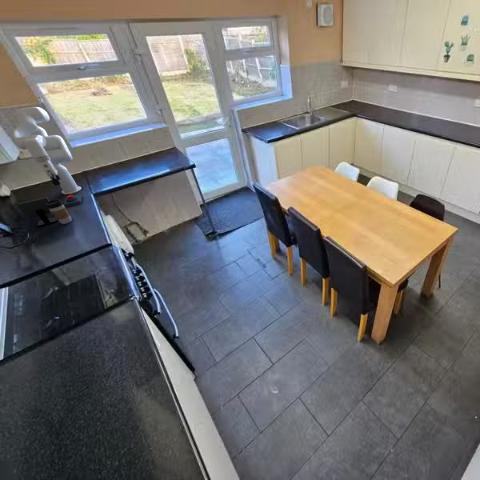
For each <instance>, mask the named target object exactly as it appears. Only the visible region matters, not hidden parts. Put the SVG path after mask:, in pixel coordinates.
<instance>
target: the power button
mask: <svg viewBox="0 0 480 480" xmlns="http://www.w3.org/2000/svg"><path fill="white" fill-rule="evenodd" d="M66 198H68V199H72V198H74V195H73V194H68V195H67V196H66Z"/></svg>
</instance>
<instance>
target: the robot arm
mask: <svg viewBox="0 0 480 480" xmlns="http://www.w3.org/2000/svg"><path fill="white" fill-rule="evenodd" d="M14 118H15V119H16V121H17V126H16V127H15V128H14V129H13V131H12V133H11V134H12V138H13V141H14V144H15V145H16V147H17V148H19V149H20V150H25V151H26V150H27V151H28V152H29V154H30V156H31V157H32V159H33V160H34V161H35V163H37V164H39V165H40V168H42V170H43V172H44V173H45V174H46V176H47V177H49V179H50V181H51V182H52V184H53V185H54V186H59V187H60V188H61V189H62V190H61V194H62V195H73V194H76V193H78V192H80V191H81V190H82V186H79V185H78V184H77V182H76V181H75V179H74V178H73V176H72V175H71V172H70V171H69V169H68V168H67V167H66V166H64V165H62V164H66V163H70V162H73V160H74V158H73V155H72V154H71V153H72V152H70V149H69V147H68V146H67V143H66V142H65V140H64V138H63V137H62V136H60V135H58V134H52V135H48V133H47V131H46V130H45V129H44V128H42V127H41V126H39V125H38V124H42V123H47V122H49V121H50V115H49V113H48V112H47V111H46V110H45V109H43V108H42V107H38V106H30V107H22V108H18V109H16V110H15V112H14Z"/></svg>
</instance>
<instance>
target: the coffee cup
mask: <svg viewBox="0 0 480 480" xmlns="http://www.w3.org/2000/svg"><path fill="white" fill-rule="evenodd" d="M46 207H47V208H48V209H49V210H50V212H51V213H50V214H52V215H53V217H56V218H57V219H58V222H59V223H60V224H61V225H66V224H69V223H71V222H72V221H73V219H72V217H71V216H70V214H69V211H68V209H67V207H66V206H65V205H64V202H63V201H62V200H61V199H52V200H49V202H47V203H46Z"/></svg>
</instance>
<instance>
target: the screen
mask: <svg viewBox="0 0 480 480" xmlns="http://www.w3.org/2000/svg"><path fill="white" fill-rule="evenodd" d="M49 201H50V198H48V196H47V197H46V196H45V197H41V198H35V199H32V200H27V201H22V202H19V203H18V204H17V206H19V208H20V209H21V211H22V212H23V213H24V214H25V216H27V218H28V219H30V218H34V217H39V216H38V215H37V213H36V212H35V210H37V209H42V210H43V211H44V213H45V214H46V215H47V214H52V213H51V212H50V210H49V209H48V208H47V207H46V203H47V202H49Z"/></svg>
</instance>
